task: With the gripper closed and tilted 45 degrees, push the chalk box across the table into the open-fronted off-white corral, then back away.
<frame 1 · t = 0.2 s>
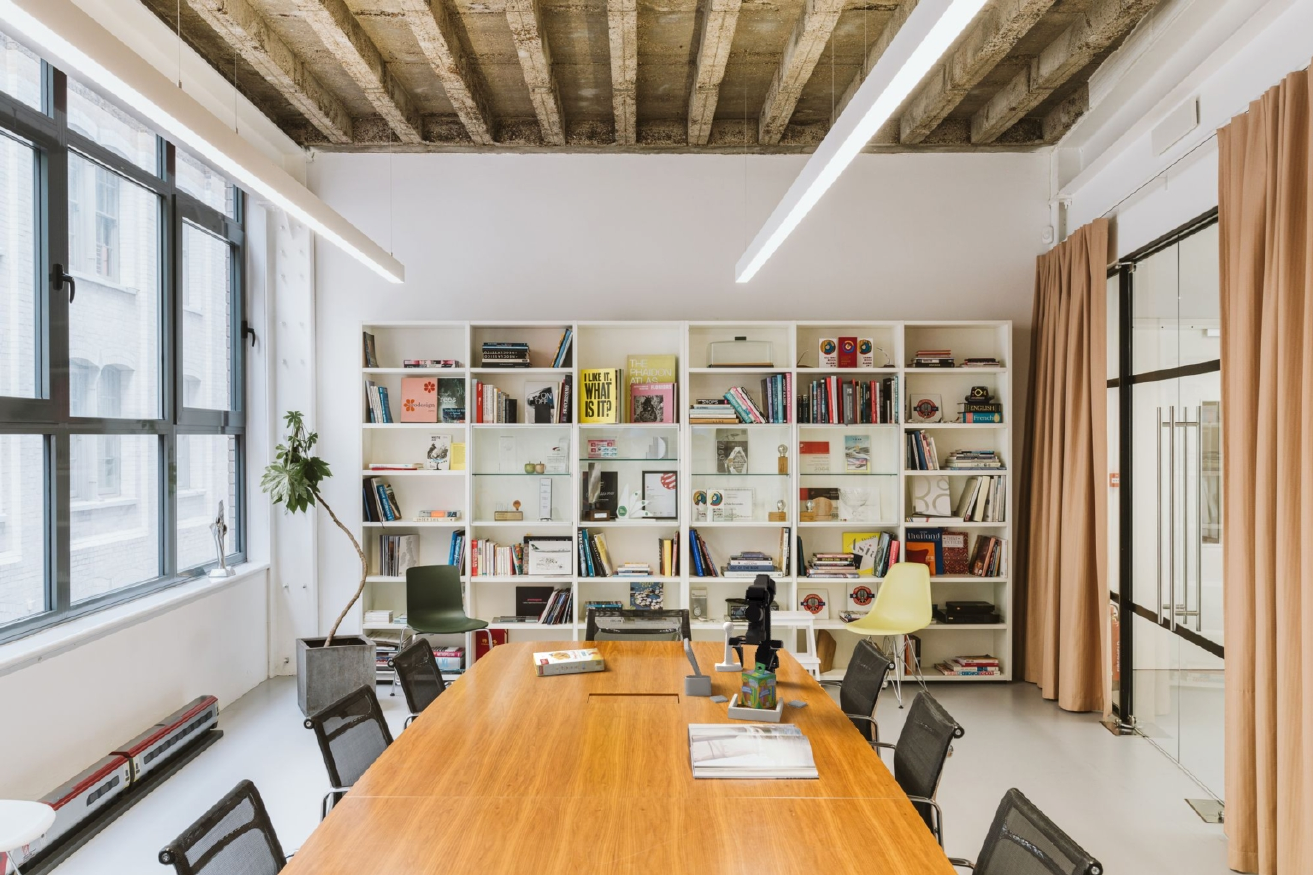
hand: (755, 668, 269), 15 cm above the table, tool pointing down, fingers open, 9 cm apart
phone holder: (697, 688, 295), on the table
tile a: (797, 706, 276), on the table
corral: (756, 711, 269), on the table
chalk box: (758, 705, 276), on the table
tile b: (718, 701, 282), on the table
joystick: (728, 669, 320), on the table
cereal box: (568, 668, 325), on the table
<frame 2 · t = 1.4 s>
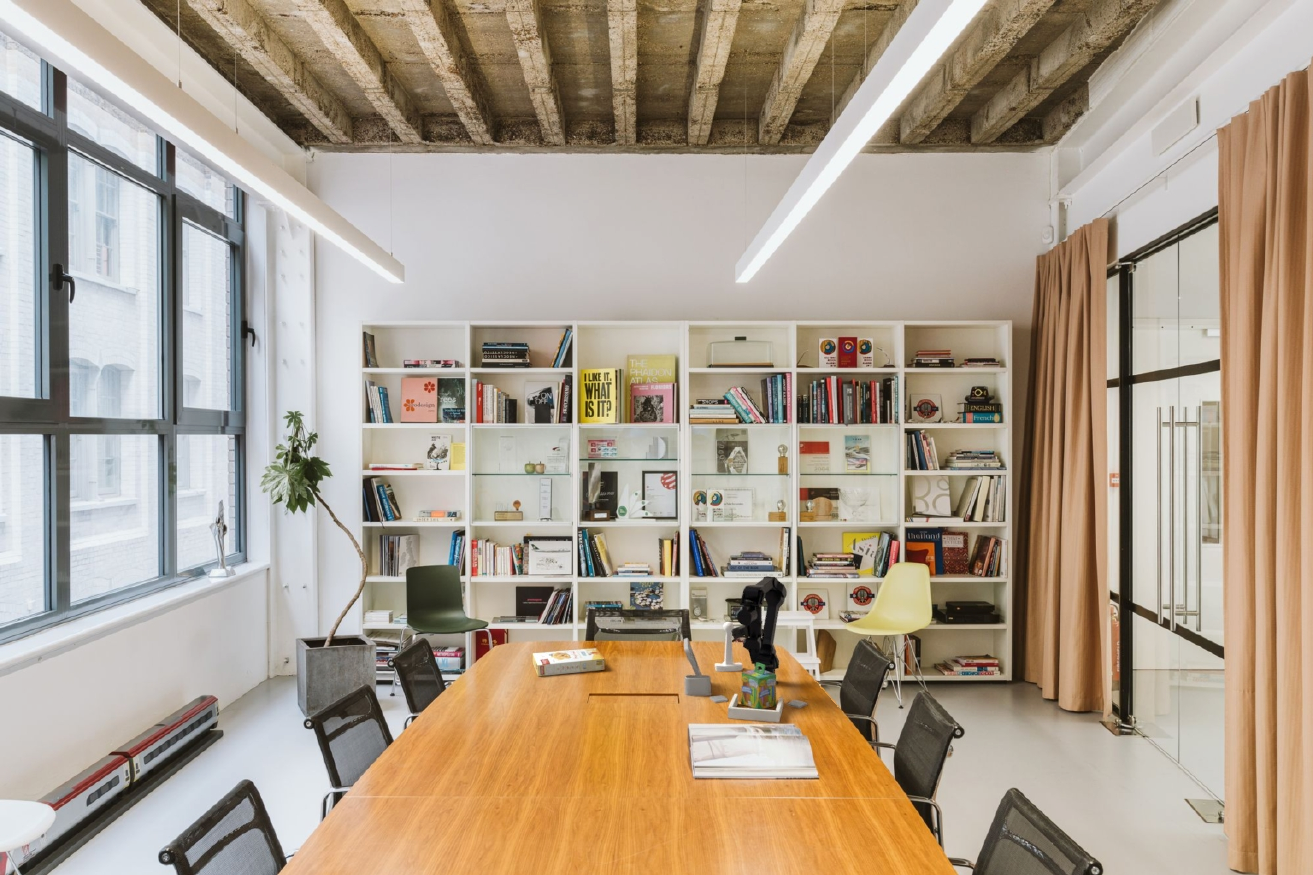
hand: (754, 660, 290), 12 cm above the table, tool pointing down, fingers open, 7 cm apart
nothing on the table moved.
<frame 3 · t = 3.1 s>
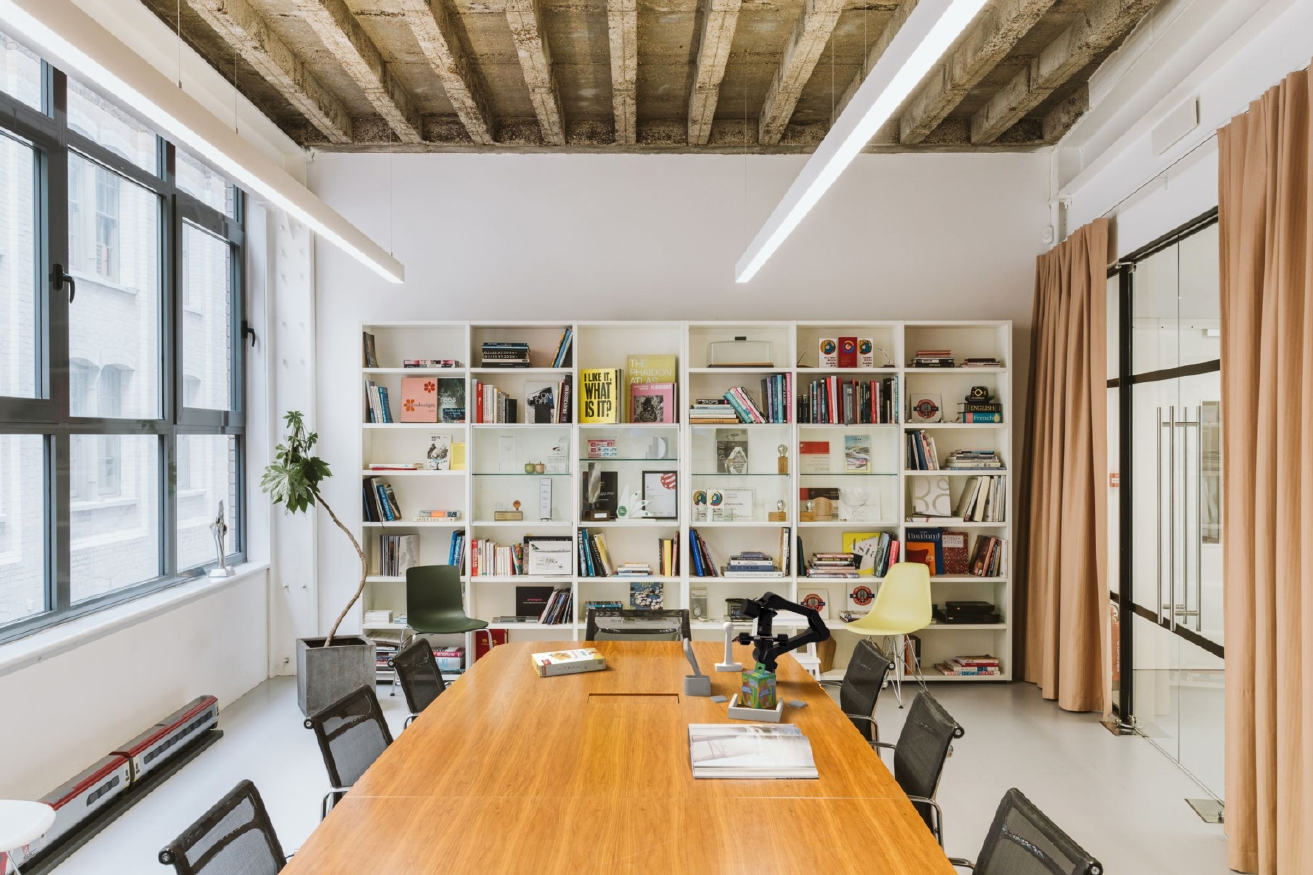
hand: (762, 659, 289), 12 cm above the table, tool tilted 45°, fingers closed
nothing on the table moved.
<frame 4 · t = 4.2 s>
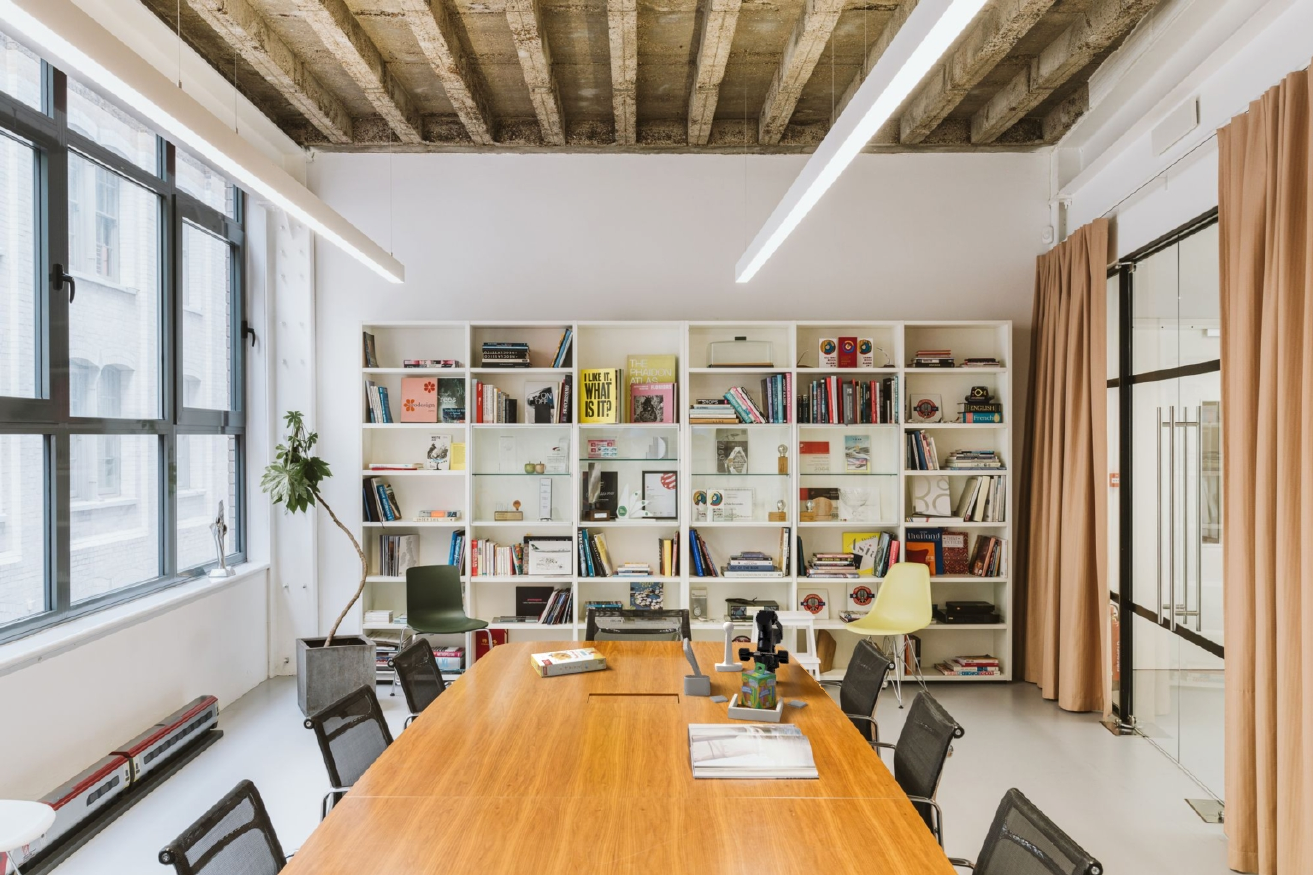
hand: (762, 676, 287), 7 cm above the table, tool tilted 45°, fingers closed
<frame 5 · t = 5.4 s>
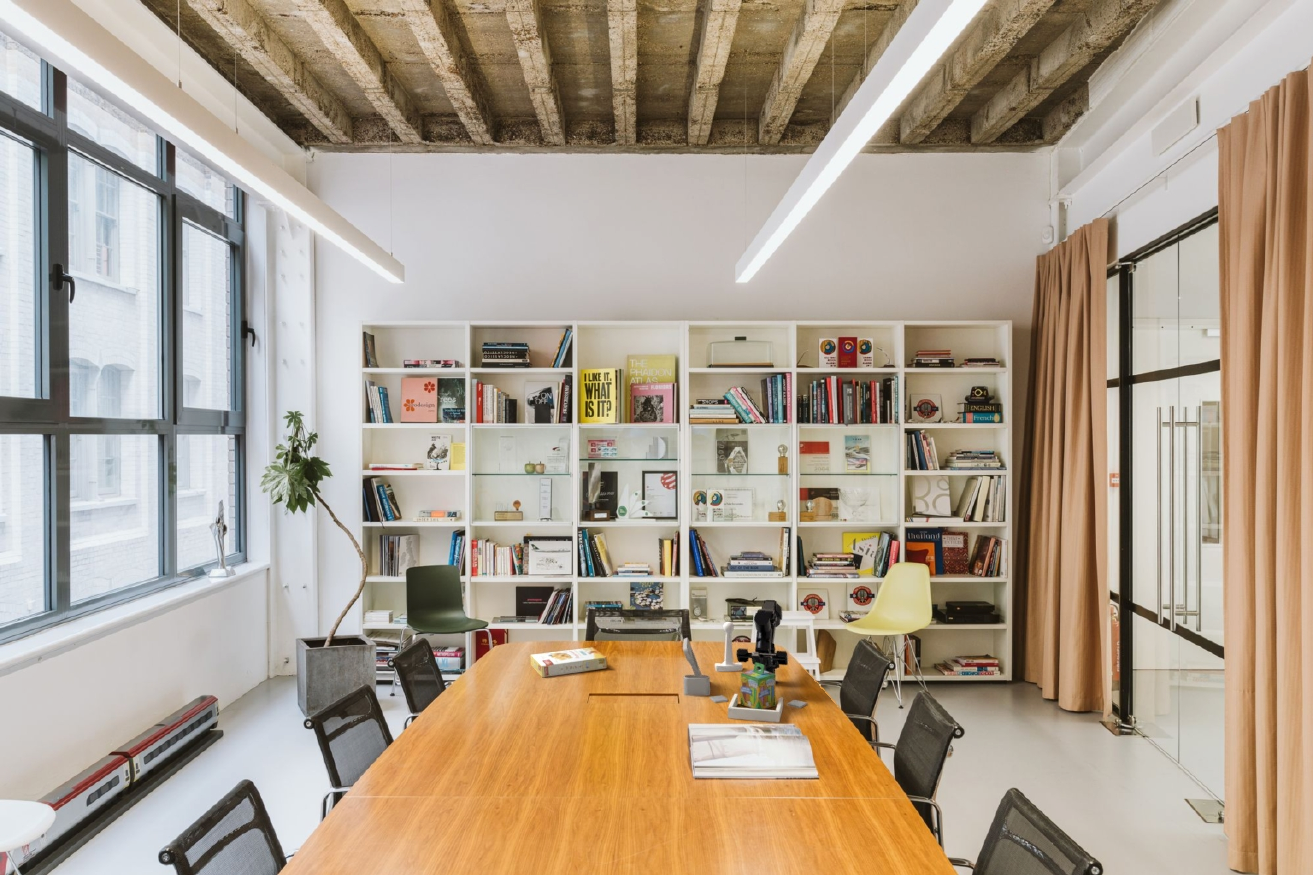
hand: (760, 677, 281), 8 cm above the table, tool tilted 45°, fingers closed
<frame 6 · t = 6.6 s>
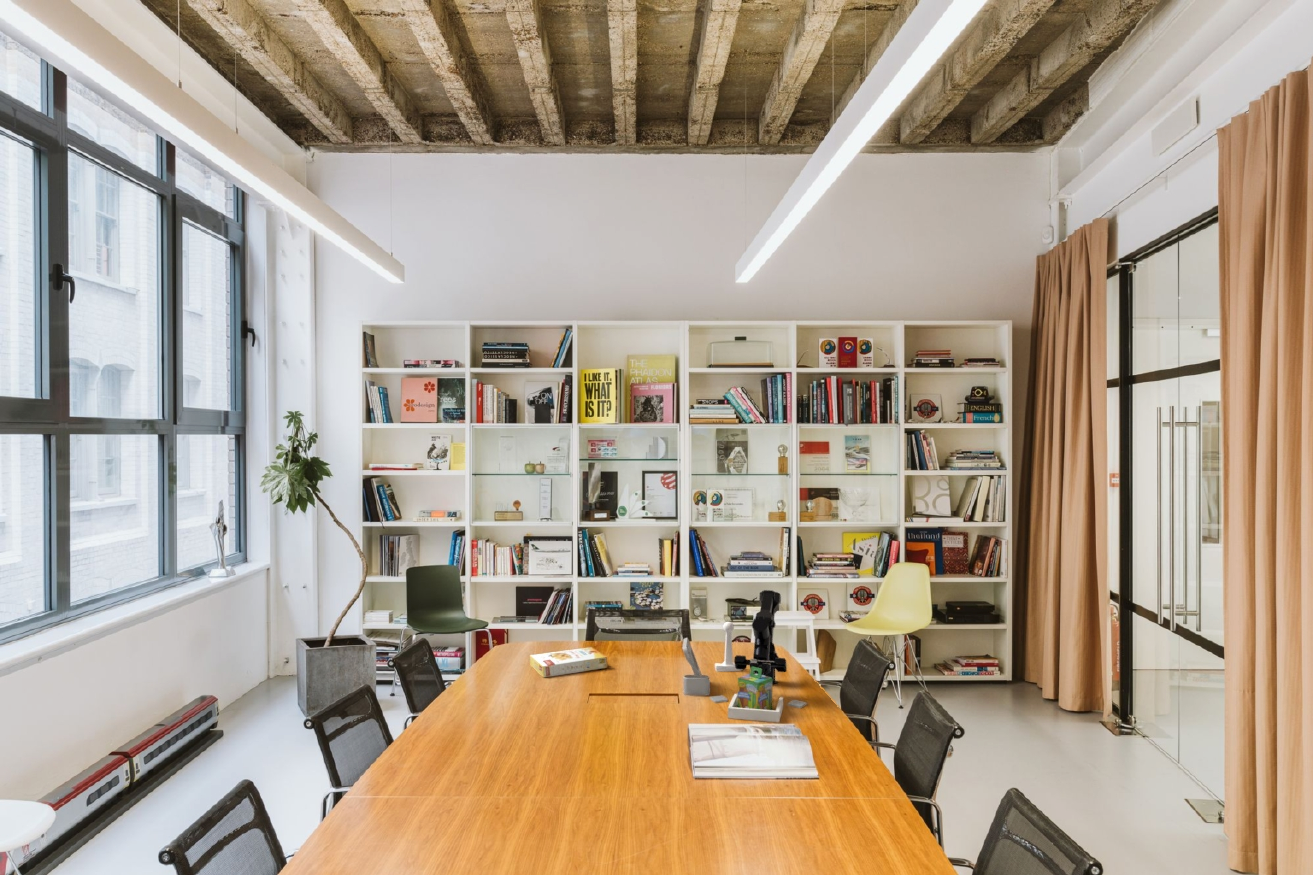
hand: (758, 684, 276), 7 cm above the table, tool tilted 45°, fingers closed
chalk box: (755, 710, 271), on the table, touching gripper
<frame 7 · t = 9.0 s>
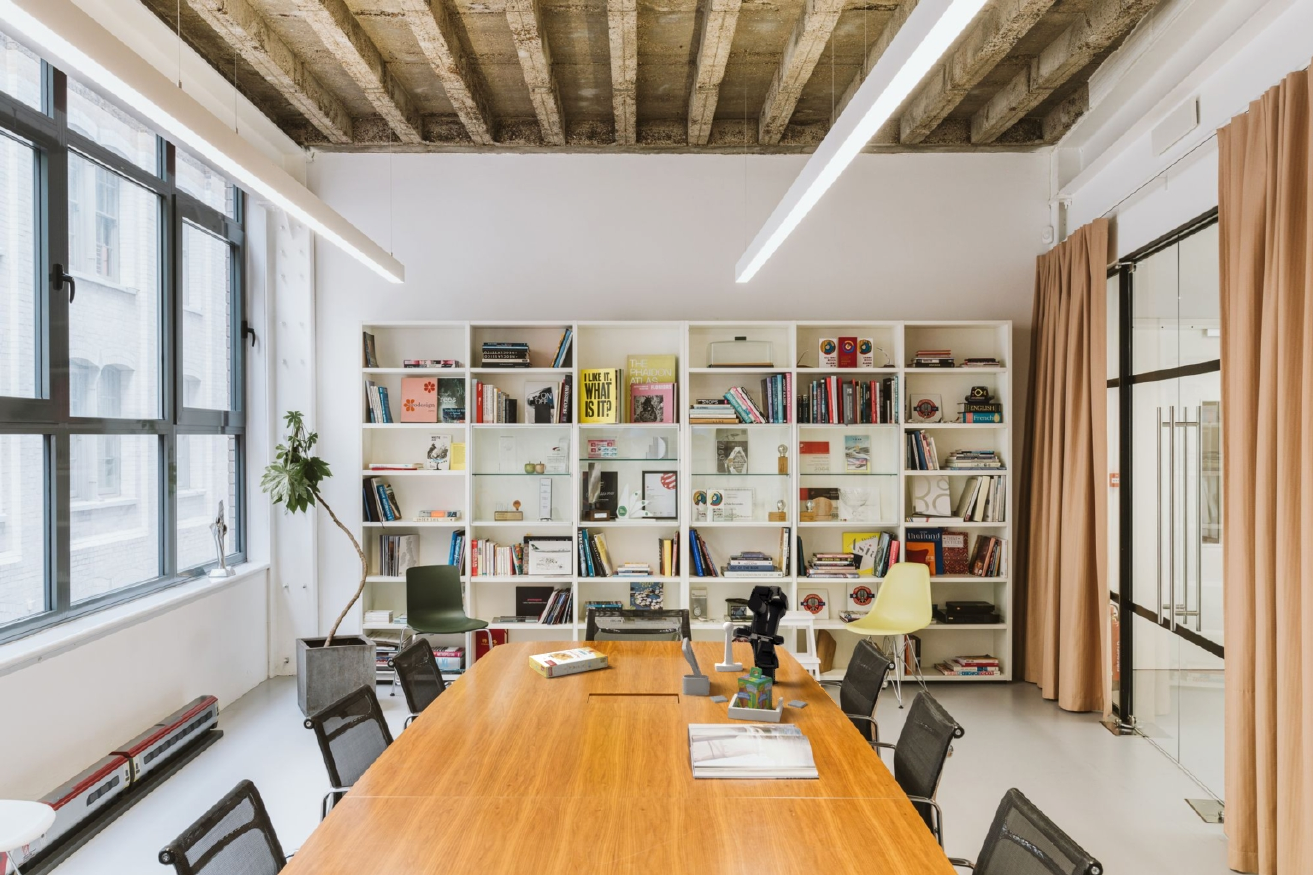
hand: (756, 659, 287), 13 cm above the table, tool tilted 25°, fingers closed
chalk box: (755, 710, 271), on the table
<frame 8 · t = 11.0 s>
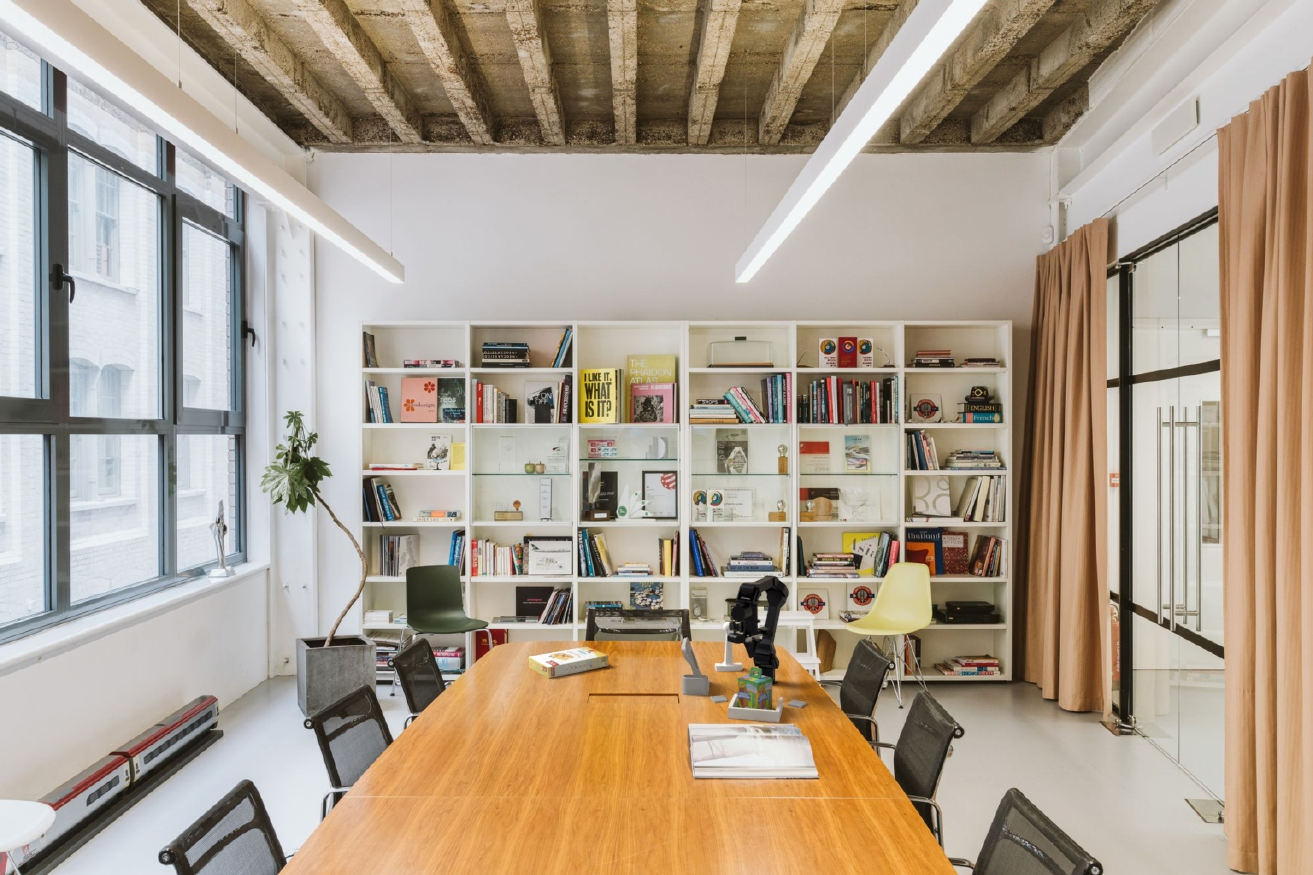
hand: (750, 657, 290), 13 cm above the table, tool pointing down, fingers closed
at the end: chalk box 1.8 cm from the corral (horizontally); chalk box tilted 0° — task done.
